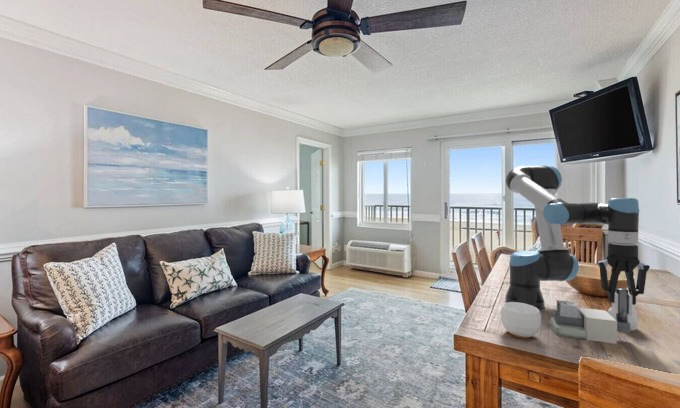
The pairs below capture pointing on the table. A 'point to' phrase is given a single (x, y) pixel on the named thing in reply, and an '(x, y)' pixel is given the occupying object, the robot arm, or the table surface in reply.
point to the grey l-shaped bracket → (620, 318)
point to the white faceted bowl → (521, 319)
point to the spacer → (567, 309)
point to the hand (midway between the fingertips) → (621, 312)
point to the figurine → (631, 318)
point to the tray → (567, 330)
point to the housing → (599, 325)
